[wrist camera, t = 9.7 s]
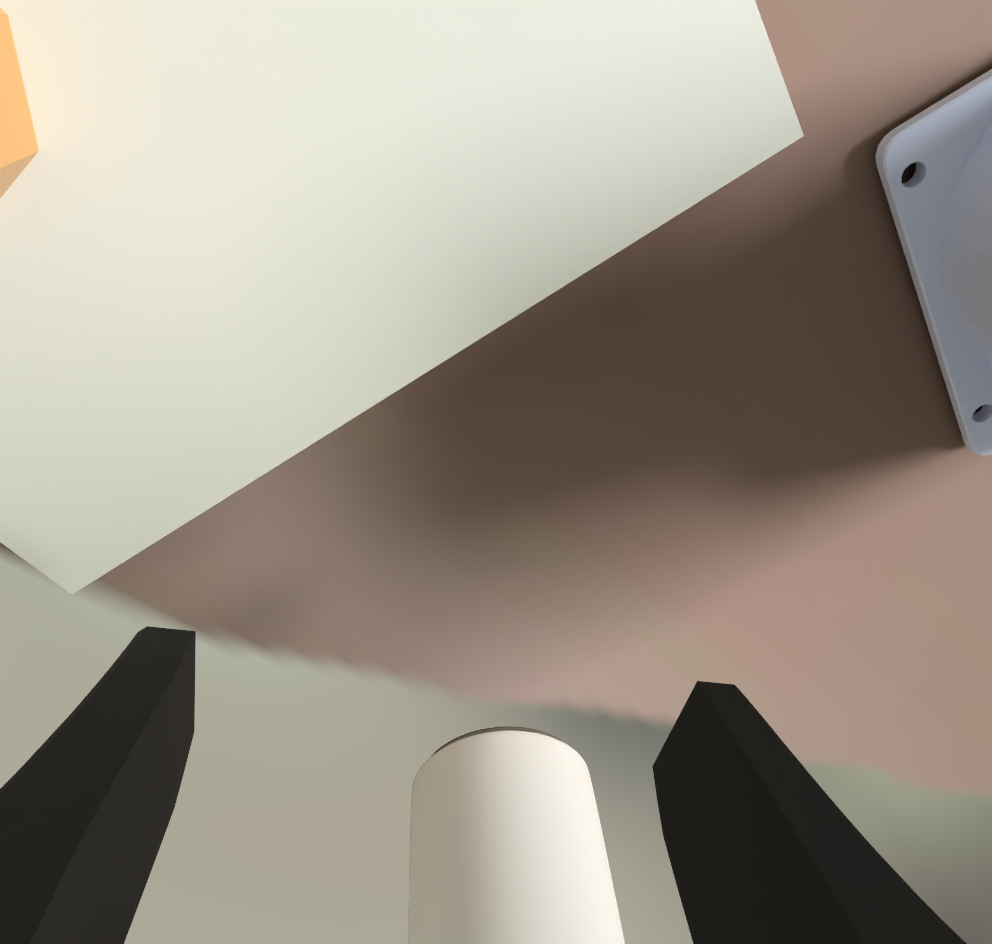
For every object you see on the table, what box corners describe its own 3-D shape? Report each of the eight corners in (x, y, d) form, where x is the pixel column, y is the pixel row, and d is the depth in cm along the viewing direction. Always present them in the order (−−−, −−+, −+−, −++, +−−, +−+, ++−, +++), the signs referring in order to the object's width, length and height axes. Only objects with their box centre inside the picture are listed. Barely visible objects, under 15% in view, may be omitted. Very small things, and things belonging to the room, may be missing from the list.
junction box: (743, 110, 16) (893, 172, 11) (116, 517, 20) (11, 698, 15) (290, -1023, 9) (97, -2437, 4) (-525, -16, 13) (-1131, -15, 8)
